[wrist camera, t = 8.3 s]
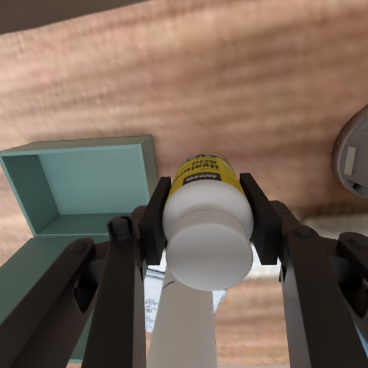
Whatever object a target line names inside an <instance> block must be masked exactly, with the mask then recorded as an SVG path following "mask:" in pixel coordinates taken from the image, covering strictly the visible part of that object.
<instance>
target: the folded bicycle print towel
mask: <svg viewBox="0 0 368 368" xmlns="http://www.w3.org/2000/svg"><path fill="white" fill-rule="evenodd" d="M164 275H165V274H163V273H158V272H155V271H151V270H147V272H146V276H145V280H144V295H145V331H148V332H152V333H153V328H154V323H155V318H156V314H157V309H158V304H159V299H160V295H161V290H162V285H163V280H164ZM226 292H227V291H226V289H223V290H218V291H213V307H214V314H215V311H216V309H217V307H218V305H219V302H220V301H222V299H223V297H224V295H225V294H226Z"/></svg>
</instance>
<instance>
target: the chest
mask: <svg viewBox="0 0 368 368" xmlns="http://www.w3.org/2000/svg"><path fill="white" fill-rule="evenodd" d="M0 164H1V166H2V168H3V170H4V173H5V175H6V177H7V179H8V181H9V184H10V186H11V188H12V190H13V192H14V195H15V197H16V199H17V201H18V203H19V205H20V208H21V210H22V212H23V214H24V216H25V219H26V221H27V223H28V225H29V227H30V229H31V232H32V234H33V236H34V238H37V237H38V238H41V237H105V236H109V233H108V229H107V226H106V224H107V223H108V221H110V220H111V219H113V218H115V217H117V216H122V215H128V216H130V215H131V214H132V212H133V210H134V209H135V208H137V207H138V206H142V205H148V203H149V201H150V199H151V197H152V195H153V193H154V191H155V188H156V186H157V184H158V175H157V167H156V160H155V152H154V145H153V137H152V135H146V136H130V137H114V138H98V139H83V140H67V141H51V142H35V143H30V144H26V145H22V146H18V147H14V148H10V149H7V150H3V151H0Z"/></svg>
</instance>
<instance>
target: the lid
mask: <svg viewBox="0 0 368 368" xmlns="http://www.w3.org/2000/svg"><path fill="white" fill-rule="evenodd" d="M80 238H85V237H57V238H31V239H30V240H29V241H27V242H26V243H25V244H24V245H23V246H22V247H21V248H20V249H19V250H18V251H17V252H16V253H15V254H14V255H13V256H12V257H11V258H10V259H9V260H8V261H7V262H6V263H5V264H3V265H2V266H1V267H0V324H1V323H2V322H3V321H4V320H5V318H6V317H7V316H8V315H9V314H10V313H11V311H12V310H13V309H14V308H15V307H16V305H17V304H18V303H19V302H20V301H21V300H22V298H23V297H24V296H25V295H26V294H27V293H28V291H29V290H30V289H31V288H32V287H33V285H34V284H35V283H36V282H37V281H38V280H39V278H40V277H41V276H42V275H43V274H44V272H45V271H46V270H47V269H48V268H49V267H50V265H51V264H52V263H53V262H54V261H55V260H56V258H57V257H58V256H59V255H60V254H61V252H62V251H63V250H64V249H65V248H66V247H67V246H68V245H69V244H70V243H71V242H73V241H75V240H77V239H80ZM88 238H91V239H93V241H94V244H97V243H101V242H105V241H109V240H110V237H88ZM147 268H148V265H146V262H145V259H144V262H143V269H144V280H145V276H146V272H147ZM94 307H95V306H94ZM93 312H94V308H93V310H92V313H91V315H90V317H89V319H88V321H87V323H86V325H85V328H84V330H83V332H82V334H81V336H80V338H79V340H78V342H77V345H76V347H75V349H74V351H73V353H72V355H71V357H70V360H69V362H68V363H82V361H83V357H84V352H85V348H86V343H87V339H88V334H89V330H90V325H91V321H92V316H93Z"/></svg>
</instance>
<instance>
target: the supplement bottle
mask: <svg viewBox="0 0 368 368" xmlns="http://www.w3.org/2000/svg"><path fill="white" fill-rule="evenodd" d="M253 226H254V219H253V213H252V210H251V207H250V205H249V202H248V200H247V198H246V196H245V194H244V191H243V189H242V187H241V185H240V183H239V180H238V178H237V176H236V174H235V172H234V170H233V168H232V167H231V165H230V164H229V163H228V162H227V161H226V160H225V159H224V158H222V157H221V156H219V155H216V154H212V153H199V154H196V155H193V156H191V157H189V158H187V159H186V160H185V161H184V162H183V163H182V164H181V165H180V167H179V168H178V170H177V172H176V175H175V178H174V181H173V184H172V187H171V189H170V192H169V195H168V198H167V201H166V204H165V207H164V211H163V215H162V227H163V231H164V234H165V237H166V239H167V240H168V244H167V249H166V262H167V266H168V268H169V270H170V272H171V273H172V274H173V275H174V277H175V278H176V279H177V280H179V281H180V282H181V283H183V284H185V285H187V286H189V287H191V288H194V289H198V290H204V291H218V290H223V289H227V288H230V287H232V286H234V285H236V284H238V283H239V282H241V281H242V280H243V279H244V278H245V277H246V276H247V274H248V273H249V271H250V269H251V267H252V263H253V252H252V248H251V245H250V241H249V240H250V238H251V235H252V232H253Z"/></svg>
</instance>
